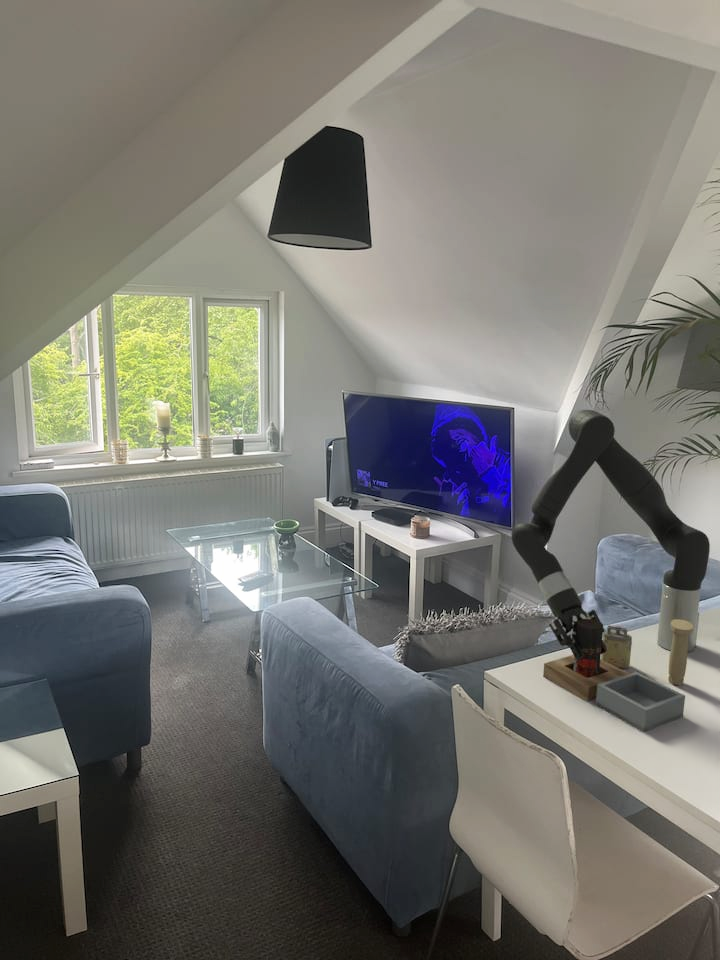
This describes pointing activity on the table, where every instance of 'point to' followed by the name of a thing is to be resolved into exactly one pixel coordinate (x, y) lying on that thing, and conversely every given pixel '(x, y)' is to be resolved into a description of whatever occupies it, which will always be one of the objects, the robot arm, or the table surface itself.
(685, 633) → the handle
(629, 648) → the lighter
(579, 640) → the deodorant
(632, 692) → the bin
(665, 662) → the table surface
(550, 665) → the holder
